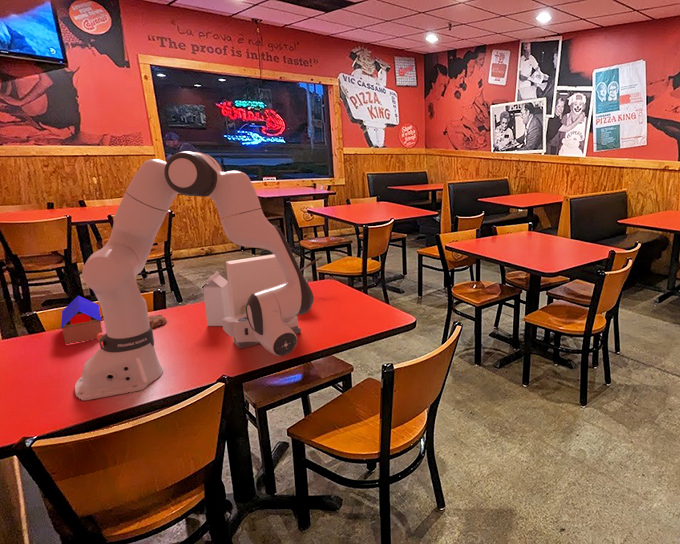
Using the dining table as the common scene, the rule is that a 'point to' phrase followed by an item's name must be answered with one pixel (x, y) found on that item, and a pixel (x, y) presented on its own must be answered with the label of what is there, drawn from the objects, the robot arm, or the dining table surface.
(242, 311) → the olive button
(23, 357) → the dining table surface
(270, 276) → the button panel
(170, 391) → the dining table surface
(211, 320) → the milk carton
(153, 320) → the cookie
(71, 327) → the house
